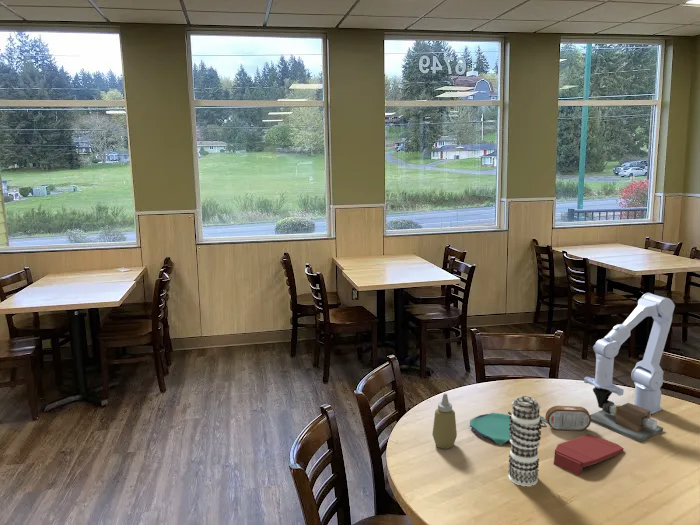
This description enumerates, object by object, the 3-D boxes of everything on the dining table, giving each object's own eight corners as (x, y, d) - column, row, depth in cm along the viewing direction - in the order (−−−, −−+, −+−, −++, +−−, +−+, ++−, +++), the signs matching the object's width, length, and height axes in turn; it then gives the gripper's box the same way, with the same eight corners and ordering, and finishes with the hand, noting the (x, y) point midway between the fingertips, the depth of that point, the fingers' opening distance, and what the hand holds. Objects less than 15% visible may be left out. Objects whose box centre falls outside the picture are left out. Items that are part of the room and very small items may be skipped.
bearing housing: (609, 409, 207) (610, 391, 206) (662, 430, 191) (664, 411, 189) (586, 419, 200) (587, 400, 199) (639, 442, 183) (641, 422, 182)
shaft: (609, 410, 202) (609, 398, 201) (658, 429, 187) (659, 417, 186) (601, 413, 200) (602, 401, 199) (650, 432, 185) (651, 420, 184)
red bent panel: (587, 447, 188) (547, 462, 173) (589, 433, 188) (549, 447, 172) (623, 461, 179) (584, 478, 163) (625, 447, 178) (586, 463, 163)
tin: (588, 428, 194) (590, 405, 192) (591, 432, 191) (593, 409, 189) (544, 426, 195) (545, 404, 194) (546, 431, 192) (548, 408, 191)
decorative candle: (535, 490, 157) (539, 409, 153) (503, 481, 162) (505, 402, 158) (542, 475, 165) (546, 397, 160) (511, 467, 170) (514, 390, 165)
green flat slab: (458, 426, 197) (459, 420, 196) (519, 408, 211) (519, 402, 211) (498, 451, 180) (499, 444, 179) (561, 430, 194) (561, 424, 194)
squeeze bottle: (459, 441, 186) (460, 391, 183) (453, 453, 179) (454, 401, 175) (436, 436, 189) (436, 387, 186) (429, 447, 182) (429, 396, 179)
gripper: (579, 368, 204) (577, 402, 206) (616, 381, 191) (613, 417, 194) (591, 364, 207) (589, 398, 210) (628, 376, 195) (625, 412, 198)
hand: (601, 407), depth 202 cm, fingers closed
